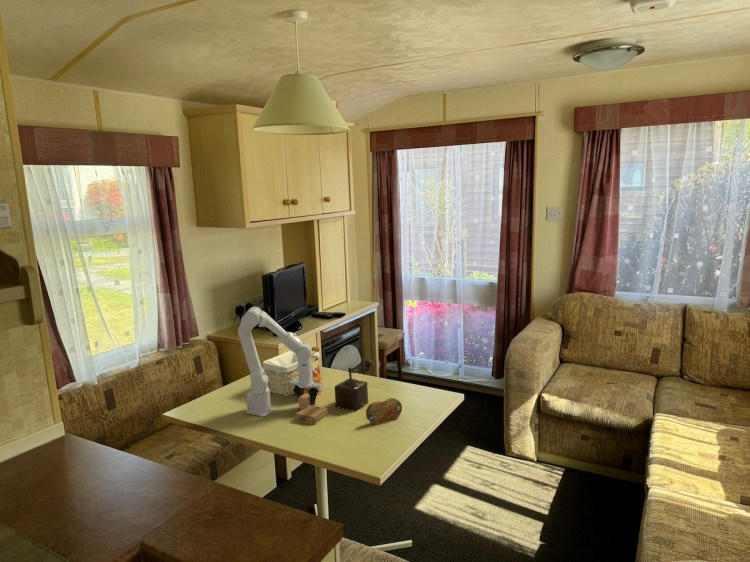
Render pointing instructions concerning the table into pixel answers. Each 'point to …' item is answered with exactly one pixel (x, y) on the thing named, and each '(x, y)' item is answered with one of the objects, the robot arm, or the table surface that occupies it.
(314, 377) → the milk carton
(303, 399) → the terracotta cube
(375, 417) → the tin
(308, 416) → the brown flat square block
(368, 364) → the dark brown boxy piece
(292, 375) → the storage basket
